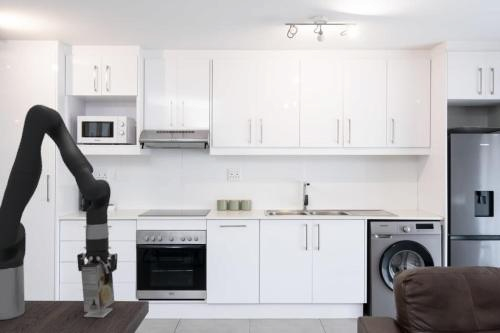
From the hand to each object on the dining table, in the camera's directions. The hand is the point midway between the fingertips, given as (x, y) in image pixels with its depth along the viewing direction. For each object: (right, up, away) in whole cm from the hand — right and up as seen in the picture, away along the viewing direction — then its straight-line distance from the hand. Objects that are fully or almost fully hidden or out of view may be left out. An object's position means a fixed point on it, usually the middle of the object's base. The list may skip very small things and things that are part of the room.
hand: (97, 283), depth 134 cm
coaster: (0, -11, 0) cm, 11 cm away
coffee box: (+1, -9, 0) cm, 9 cm away
